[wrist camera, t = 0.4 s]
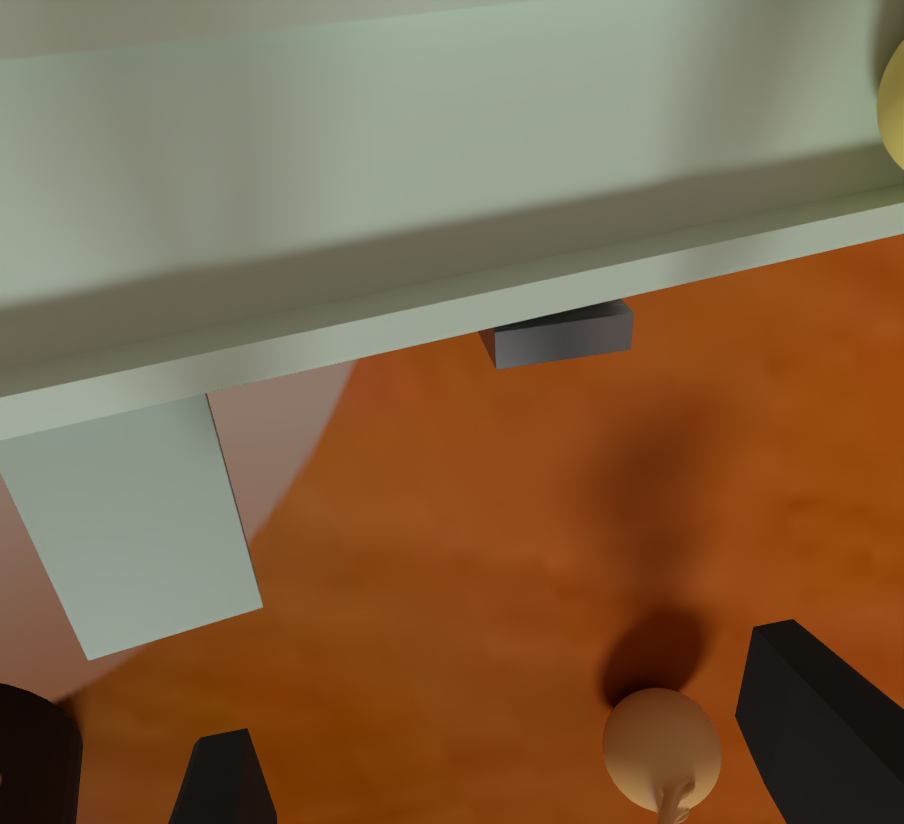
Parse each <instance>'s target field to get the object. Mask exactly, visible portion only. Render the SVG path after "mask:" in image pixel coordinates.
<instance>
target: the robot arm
mask: <svg viewBox="0 0 904 824" xmlns="http://www.w3.org/2000/svg"><path fill="white" fill-rule="evenodd" d="M735 717H736V720H737V722H738V724H739V727H740V729H741V731H742V734H743V736H744V739H745V741H746V743H747V746H748V748H749V750H750V753H751V755H752V757H753V759H754V762H755V764H756V766H757V768H758V770H759V773H760V775H761V777H762V779H763V781H764V784H765V786H766V788H767V790H768V791H769V793H770V795H771V797H772V798H773V800H774V802H775V804H776V806H777V807H778V809H779V811H780V813H781V814H782V816H783V818H784V820H785V821H786V823H787V824H904V709H903V708H901V707H900V706H899V705H898V704H896V703H895V702H894V701H893V700H891V699H890V698H889V697H888V696H886V695H885V694H884V693H883V692H881V691H880V690H879V689H878V688H877V687H875V686H874V685H873V684H872V683H870V682H869V681H868V680H867V679H865V678H864V677H863V676H862V675H861V674H859V673H858V672H857V671H856V670H854V669H853V668H852V667H851V666H850V665H848V664H847V663H846V662H845V661H844V660H842V659H841V658H840V657H839V656H838V655H836V654H835V653H834V652H833V651H831V650H830V649H829V648H828V647H827V646H825V645H824V644H823V643H822V642H821V641H819V640H818V639H817V638H816V637H815V636H813V635H812V634H811V633H810V632H808V631H807V630H806V629H805V628H803V627H802V626H801V625H800V624H799V623H797V622H796V621H795V620H793V619H791V620H786V621H781V622H776V623H771V624H766V625H761V626H756V627H753V631H752V636H751V641H750V646H749V651H748V656H747V660H746V665H745V670H744V675H743V680H742V685H741V690H740V695H739V699H738V704H737V709H736V714H735ZM168 824H277V814H276V811H275V808H274V805H273V802H272V799H271V796H270V793H269V791H268V788H267V785H266V782H265V779H264V776H263V773H262V770H261V767H260V764H259V761H258V758H257V755H256V752H255V750H254V747H253V744H252V741H251V738H250V735H249V732H248V729H247V728H246V729H241V730H236V731H231V732H226V733H221V734H216V735H211V736H206V737H201V738H200V739H199V740H198V741H197V742H196V743H195V744H194V747H193V751H192V754H191V758H190V761H189V764H188V767H187V771H186V774H185V777H184V780H183V783H182V786H181V789H180V792H179V795H178V798H177V801H176V803H175V806H174V809H173V812H172V815H171V817H170V820H169V823H168Z"/></svg>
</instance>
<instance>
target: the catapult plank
mask: <svg viewBox="0 0 904 824" xmlns="http://www.w3.org/2000/svg"><path fill="white" fill-rule="evenodd" d="M903 40H904V0H0V473H1V476H2V478H3V480H4V482H5V484H6V486H7V489H8V491H9V493H10V495H11V497H12V499H13V501H14V504H15V506H16V508H17V510H18V512H19V514H20V516H21V518H22V520H23V523H24V525H25V527H26V529H27V531H28V533H29V535H30V538H31V540H32V542H33V544H34V546H35V548H36V550H37V553H38V555H39V557H40V559H41V561H42V563H43V565H44V567H45V570H46V572H47V574H48V576H49V578H50V580H51V582H52V584H53V587H54V589H55V590H56V593H57V595H58V597H59V599H60V602H61V604H62V606H63V608H64V610H65V612H66V614H67V617H68V619H69V620H70V623H71V625H72V627H73V629H74V631H75V633H76V636H77V638H78V640H79V642H80V644H81V646H82V648H83V651H84V653H85V655H86V657H87V659H88V661H89V660H92V659H96V658H99V657H102V656H105V655H109V654H112V653H115V652H118V651H122V650H125V649H128V648H132V647H135V646H138V645H141V644H145V643H148V642H151V641H154V640H158V639H161V638H164V637H167V636H171V635H174V634H177V633H181V632H184V631H187V630H190V629H194V628H197V627H200V626H203V625H207V624H210V623H213V622H217V621H220V620H223V619H226V618H230V617H233V616H236V615H239V614H243V613H246V612H249V611H253V610H256V609H259V608H262V607H263V604H262V600H261V596H260V592H259V587H258V583H257V579H256V574H255V570H254V567H253V563H252V559H251V556H250V552H249V548H248V544H247V541H246V537H245V533H244V530H243V526H242V522H241V519H240V515H239V511H238V507H237V504H236V500H235V497H234V493H233V489H232V485H231V481H230V478H229V474H228V470H227V467H226V463H225V459H224V456H223V452H222V448H221V444H220V441H219V437H218V434H217V430H216V426H215V422H214V419H213V415H212V411H211V407H210V404H209V400H208V397H207V393H210V392H214V391H218V390H223V389H227V388H231V387H236V386H240V385H245V384H249V383H253V382H258V381H262V380H266V379H271V378H275V377H279V376H284V375H288V374H293V373H296V372H301V371H306V370H310V369H314V368H319V367H323V366H327V365H332V364H336V363H341V362H345V361H349V360H354V359H358V358H362V357H367V356H371V355H375V354H380V353H384V352H389V351H393V350H397V349H402V348H406V347H410V346H415V345H419V344H423V343H428V342H432V341H437V340H441V339H445V338H450V337H454V336H458V335H463V334H467V333H471V332H476V331H480V330H485V329H489V328H493V327H498V326H502V325H506V324H511V323H515V322H519V321H524V320H528V319H533V318H537V317H541V316H546V315H550V314H554V313H559V312H563V311H567V310H572V309H576V308H580V307H585V306H589V305H594V304H598V303H602V302H607V301H611V300H615V299H620V298H624V297H628V296H633V295H637V294H642V293H646V292H650V291H655V290H659V289H663V288H668V287H672V286H676V285H681V284H685V283H690V282H694V281H698V280H703V279H707V278H711V277H716V276H720V275H724V274H729V273H733V272H738V271H742V270H746V269H751V268H755V267H759V266H764V265H768V264H772V263H777V262H781V261H786V260H790V259H794V258H799V257H803V256H807V255H812V254H816V253H820V252H825V251H829V250H834V249H838V248H842V247H847V246H851V245H855V244H860V243H864V242H868V241H873V240H877V239H882V238H886V237H890V236H895V235H899V234H903V233H904V170H903V169H902V168H901V167H900V166H899V165H898V164H897V163H896V162H895V161H894V160H893V158H892V157H891V155H890V154H889V153H888V151H887V149H886V147H885V145H884V143H883V141H882V138H881V135H880V132H879V129H878V123H877V109H876V107H877V96H878V91H879V87H880V83H881V80H882V77H883V74H884V72H885V69H886V67H887V65H888V63H889V61H890V59H891V57H892V55H893V54H894V52H895V51H896V49H897V48H898V46H899V45H900V44H901V42H902V41H903Z"/></svg>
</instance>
